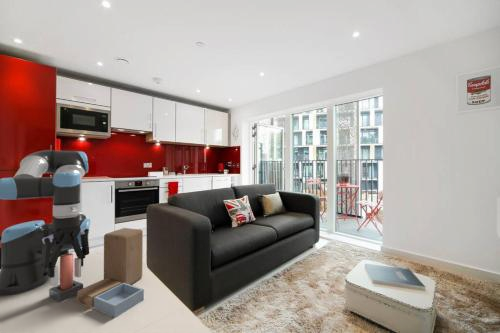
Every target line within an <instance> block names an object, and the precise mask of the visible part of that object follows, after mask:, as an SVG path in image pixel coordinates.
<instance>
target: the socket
mask: <svg viewBox="0 0 500 333" xmlns="http://www.w3.org/2000/svg"><path fill="white" fill-rule="evenodd" d="M83 288H84V284H83V283H82V282H80V281H76V280H75V279H73V287H71V288H68V289H66V290H64V291H62V290H60V284H58V286H57V287H54V286H52V287H51V288H49V289H48V298H49V299H52V300H54V301H56V302H58V303H60V304H61V303H62V302H65V301H68V300H69V299H71V298H73V297H77V291H78V290H81V289H83Z"/></svg>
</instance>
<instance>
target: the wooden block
mask: <svg viewBox="0 0 500 333" xmlns="http://www.w3.org/2000/svg"><path fill="white" fill-rule="evenodd" d="M143 235H144V234H143V230H142V229H137V228H127V227H122V228H120V229H119V228H118V229H117V230H113V231H110V232H108V233H105V234H104V236H103V279H105V278H109V279H112V280H115V281H118V282H121V284H122V283H126V284H129V285H133V284H134V283H136V282H137V281H139V280H140V279H142V277H143V252H144V251H143V250H144V249H143V242H144V240H143V238H144V236H143Z"/></svg>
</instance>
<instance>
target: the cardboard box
mask: <svg viewBox="0 0 500 333" xmlns="http://www.w3.org/2000/svg"><path fill="white" fill-rule="evenodd" d="M120 284H121V282H118V281H115V280H112V279H109V278H105V279H104V278H103V279H101V280H99V281H97V282H95V283H91V284H90V285H87V286H85V287H83V289H81V290H78V291H77V295H76V298H77V303H79V304H81V305H84V306H85V307H88V308H91V309H93V308H94V297H96V296H98V295H100V294H102V293H104V292H106V291H108V290H110V289H112V288H114V287H116V286H118V285H120Z"/></svg>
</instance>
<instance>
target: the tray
mask: <svg viewBox="0 0 500 333" xmlns="http://www.w3.org/2000/svg"><path fill="white" fill-rule="evenodd" d="M144 294H145V289H144V288H141V287H138V286H135V285H133V284H131V285H129V284H126V283H122V284H120V285H118V286H116V287H114V288H112V289H110V290H108V291H106V292H104V293H102V294H100V295H98V296H96V297H94V307H93V308H94V310H96V311H99V312H101V313H103V314H105V315H107V316H110V317H113V318H118V316H120V315H121V314H123V313H125V312H127V311H128V310H129V309H131V308H133V307H134V306H136V305H138V304H139V303H141V302H143V301H144V300H145V299H144V296H145V295H144Z"/></svg>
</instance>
